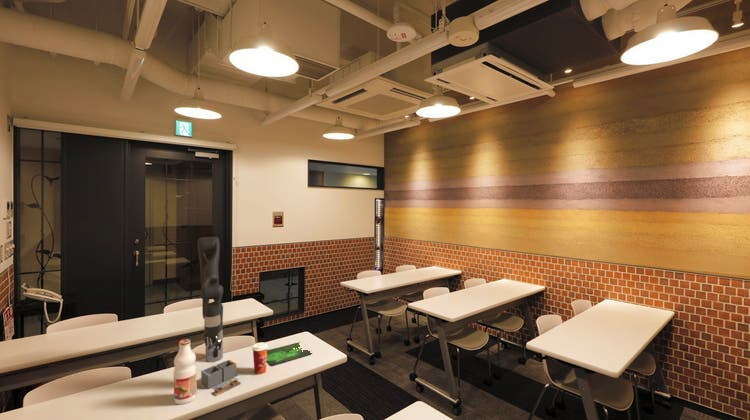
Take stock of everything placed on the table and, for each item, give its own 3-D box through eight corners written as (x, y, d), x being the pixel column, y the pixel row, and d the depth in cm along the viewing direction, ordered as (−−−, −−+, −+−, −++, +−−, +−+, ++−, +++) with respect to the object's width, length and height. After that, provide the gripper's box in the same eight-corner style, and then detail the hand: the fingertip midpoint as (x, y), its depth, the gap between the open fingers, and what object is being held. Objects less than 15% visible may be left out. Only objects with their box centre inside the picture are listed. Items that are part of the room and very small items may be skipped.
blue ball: (206, 355, 167) (206, 347, 167) (214, 352, 171) (214, 344, 171) (211, 358, 165) (210, 349, 165) (219, 354, 169) (219, 346, 168)
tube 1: (201, 384, 167) (201, 370, 167) (215, 378, 173) (214, 365, 173) (208, 389, 163) (208, 375, 163) (222, 382, 169) (222, 369, 169)
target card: (212, 387, 164) (211, 387, 164) (234, 377, 174) (234, 377, 174) (216, 390, 162) (216, 389, 162) (238, 379, 172) (238, 379, 172)
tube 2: (216, 377, 174) (216, 364, 174) (229, 372, 180) (229, 359, 180) (223, 382, 170) (223, 368, 169) (236, 376, 175) (236, 363, 175)
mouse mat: (300, 342, 219) (300, 340, 219) (314, 354, 202) (314, 352, 201) (259, 353, 203) (259, 351, 203) (270, 367, 185) (270, 365, 185)
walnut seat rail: (212, 393, 159) (212, 390, 159) (237, 382, 169) (237, 378, 169) (215, 396, 157) (215, 392, 157) (240, 384, 168) (240, 380, 168)
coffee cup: (263, 376, 175) (262, 348, 175) (249, 374, 177) (249, 347, 177) (271, 368, 183) (270, 342, 183) (257, 367, 185) (257, 341, 185)
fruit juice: (199, 398, 155) (199, 340, 155) (178, 407, 148) (177, 347, 148) (192, 390, 161) (191, 335, 161) (171, 399, 154) (170, 341, 154)
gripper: (198, 322, 168) (198, 354, 169) (212, 329, 160) (213, 363, 161) (212, 318, 174) (212, 349, 175) (227, 324, 166) (227, 357, 167)
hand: (213, 355), depth 168 cm, fingers closed on blue ball, 4 cm apart
